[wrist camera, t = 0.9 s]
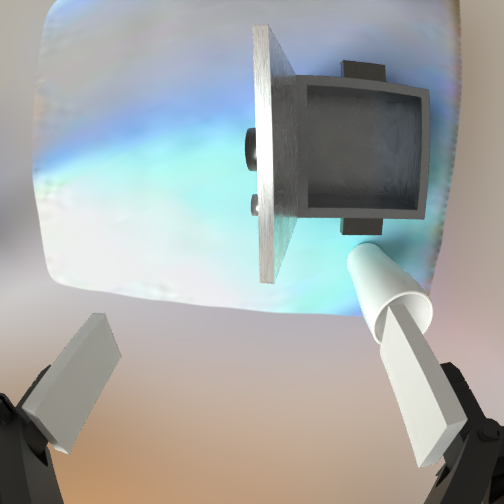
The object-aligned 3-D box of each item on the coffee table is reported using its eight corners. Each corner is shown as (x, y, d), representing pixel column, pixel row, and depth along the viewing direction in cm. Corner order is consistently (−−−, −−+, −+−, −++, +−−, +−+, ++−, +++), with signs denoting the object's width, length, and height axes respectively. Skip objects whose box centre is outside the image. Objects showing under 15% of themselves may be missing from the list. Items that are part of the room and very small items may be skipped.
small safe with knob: (289, 72, 32) (294, 56, 24) (399, 81, 31) (427, 72, 23) (292, 216, 38) (297, 236, 31) (395, 217, 37) (421, 237, 30)
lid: (295, 74, 25) (265, 75, 25) (267, 24, 12) (214, 30, 13) (297, 218, 30) (269, 217, 30) (274, 284, 17) (226, 280, 18)
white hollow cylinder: (375, 227, 38) (425, 277, 24) (393, 267, 40) (440, 327, 26) (332, 252, 40) (361, 314, 26) (352, 290, 41) (383, 360, 27)
